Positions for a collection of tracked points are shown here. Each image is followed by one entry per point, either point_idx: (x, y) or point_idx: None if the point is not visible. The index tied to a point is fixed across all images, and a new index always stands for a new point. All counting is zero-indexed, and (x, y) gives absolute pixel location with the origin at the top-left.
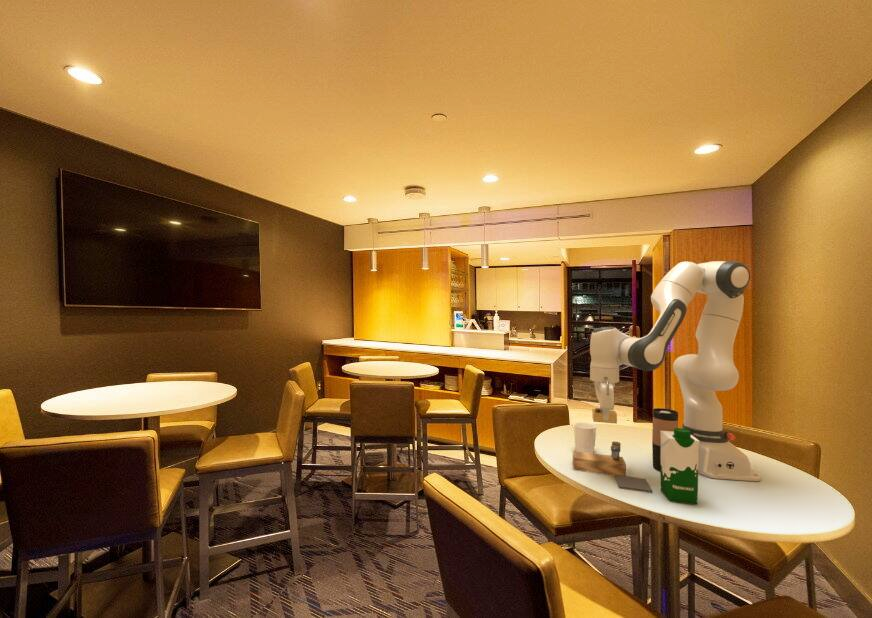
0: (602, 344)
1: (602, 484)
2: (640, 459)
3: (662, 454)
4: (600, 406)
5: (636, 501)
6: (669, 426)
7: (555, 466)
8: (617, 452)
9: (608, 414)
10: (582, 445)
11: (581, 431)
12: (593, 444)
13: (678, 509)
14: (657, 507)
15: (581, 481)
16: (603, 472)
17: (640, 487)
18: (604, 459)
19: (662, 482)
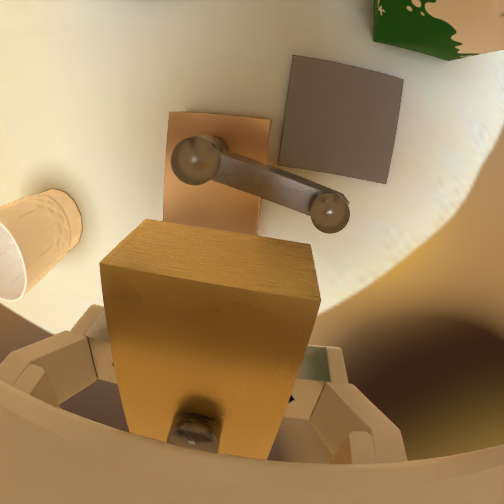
0: None
1: (359, 230)
2: (76, 33)
3: (499, 37)
4: (72, 392)
5: (462, 165)
6: None
7: None
8: (284, 172)
9: (355, 393)
10: (67, 246)
11: (36, 276)
12: (48, 204)
13: (484, 66)
14: (485, 120)
15: (343, 291)
16: (260, 201)
17: (383, 109)
18: (229, 204)
19: (429, 50)
